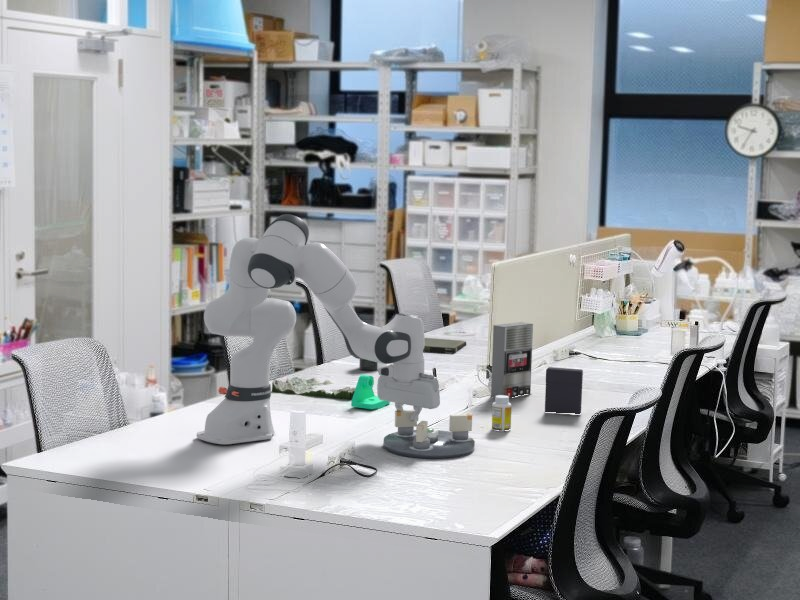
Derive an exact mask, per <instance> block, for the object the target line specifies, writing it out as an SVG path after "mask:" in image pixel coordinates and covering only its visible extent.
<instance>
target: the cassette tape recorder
mask: <svg viewBox="0 0 800 600" xmlns="http://www.w3.org/2000/svg"><path fill="white" fill-rule="evenodd" d="M492 328H493V329H492V353H491V354H492V355H491V356H492V357H491V382H490V383H491V387H490V398H492V397H493V398H492V399H495V396H497V395H505V396H509V398H512V397H515V396H518V395H524V394H531V391H532V390H531V386H532V363H533V362H532V361H533V358H532V357H533V338H534V337H533V335H534V333H533V332H534V324H533V323H529V322H525V321H520V322H511V323H502V324H493V326H492ZM512 399H513V398H512Z"/></svg>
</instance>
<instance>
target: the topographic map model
mask: <svg viewBox="0 0 800 600" xmlns="http://www.w3.org/2000/svg"><path fill="white" fill-rule="evenodd" d="M271 384H272V385H271V393H277V394H287V395H288V394H289V395H298V396H306V397H307V396H308V397H316V398H325V399H334V400H336V399H337V400H345V401H352V398H353V395H354V392H355V389H356V387H350V386H346V387H343V388H339V389H330V392H328V391H326V390H325V389H318V390H315V389H316V388H318V387H317V386H323V385H325V386H328V385H332V384H334V383H333V382H332V381H330V380H328V379H326V380H324V381H323V382H321V381H319V380H318V379H316V378H315V377H313V378H309V379H305V378H299V377H298V376H296V377H295V376H294V377H292V378H291V379H289V378H286V381H282V380H277V379H275V378H274V379H273V380H272V383H271Z"/></svg>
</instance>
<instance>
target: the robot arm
mask: <svg viewBox="0 0 800 600" xmlns="http://www.w3.org/2000/svg"><path fill="white" fill-rule="evenodd" d="M309 230H310V229H309V227H308V225H307V224H306V222H305V221H304V220H303V219H301V217H298V216H297V215H293V214H291V213H284V214H281V215H279V216H277V217H276V218H275V219H274V220H273V221H272V222H270V223H269V224H268V226H267V227H266V228H265V229H264V233H263V235H262V236H261V237H260V238H256V237H245V238H244V237H243V238H242V239H239V240H238V241H237V242H236V243H235V244H234V245H233V248H232V251H231V255H230V257H229V258H230V260H229V270H228V271H229V282H228V283H229V284H228V288H227V290H226V291H225V292H224V293H223V294H222V295H221V296H218V297H216V298H214V299H212V300H211V301H210V302H208V304H207V306H206V307H205V309H204V313H203V320H204V324H205V327H206V328H207V330H208V331H209V333H211V334H213V335H216V336H217V335H218V336H224V337H243V338H244V337H251V338H252V339H253V340H252V342H251V344H250V345H248V346H246V347H243V348H242V349H240V350H238V351H236V352H234V354H232V357H231V359H230V373H229V374H230V375H229V376H230V377H229V379H230V381H229V384H228V386H227V388H226V387H223V386H220V387H218V389H217V392H218V393H219V394H221V395H224V399H223V400H222V401H220V403H219V404H217V405H216V406H215V407H214V408H213V410H211V411H210V412H209V413H208V414H207V415H206V419H205V421H204V422H205V423H204V430H201V431H198V432H196V438H197V439H199V440H201V441H205V442H207V443H212V444H218V445H232V444H233V445H234V444H240V443H249V442H256V441H263V440H265V441H266V440H270V439H273V435H275V430H274V426H273V421H272V413H271V405H270V404H271V403H270V402H271V401H270V400H271V396H272V395H271V394H272V385H271V383H270V374H271V373H270V371H271V362H272V356H273V354H274V351H275V349H276V348H277V346H278V344H279V343H280V342H281V341H282V340H283V339H284V338H285V337H286V336H288V335H290V334H291V332H292V331H293V329H294V328H295V326H296V324H297V312H296V310H295V307H294V306H293V304H292V303H291V302H290V301H288V300H284V299H280V298H275V297H268V296H269V295H270V293H271V292H270V291H271V289H277V288H282V287H283V286H290V285H292V284H293V283H294V282H295V278H298V279H300V280H302V281H303V282H304V283H305V284H306V285H307V287H308V288H309V289H310V290H311V292H312V293H313V294H314V296H315V297H316V298H317V299H318V301H320V303H321V304H322V306H323V308H324V310H325V311H326V313H327V314H328V316H329V317H330V318H331V320H332V321H333V323H334V324H335V325H336V327H337V329H339V331H340V332H341V335H342V337H343V339H344V342H345V346H346V349H347V350H348V353H349V354H350V355H351V356H352V357H354V358H355V359H358V360H360V359H363V360H370V361H374V362H378V363H383V364H387V366H385V367H381V368H379V370H377V371H378V376H379V377H378V379H377V385H376V389H377V390H376V391H377V392H376V393H377V394H376V396H378V397H379V399H380V400H384V401H389V402H390V403H394V407H395V408H396V411H397V410H404V407H403V406H404V405H406V406H413V409H412V410H415V411H414V414H413V415H411V419H410V420H411V421H414V422H416V421H417V422H418V421H419V415H420V413H421V411H422V409H423V408H424V409H429V410H433V409H436V408H437V409H438V408H439V406H440V405H441V397H440V396H441V395H440V389H439V379H438V378H436V377H435V375H432V374H427V373H425V356H424V352H423V349H424V342H425V339H424V338H425V327H424V321H423V320H422V318H421V317H420V316H419V315H415V314H409V313H403V312H402V313H400V312H399V313H396V314H395V316H394V317H393V319H391V320H390V321H389V322H388V323H387V324H385V325H383V326H381V327H380V326H376V325H373V324H369V323H366V322H364V321H363V320H362V319H360V317H359V316H358V314H357V313H356V311H355V310H354V308H353V307H352V306H351V304H350V303H351V302H352V301H353V299H354V297H355V296H356V293H357V289H358V287H357V286H358V284H357V282H356V280H355V277H354V276H353V274H352V273H351V271H350V270H349V268H348V267H347V266H346V265H345V263H343V262H344V261H342V260H341V259H340V258H339V257H338V256H337V255H336V254H335V253H334V252H333V251H332V250H331V249H330V248H329V247H327V246H326V245H325V244H323V243H322V242H317V241H315V242H310V243H308V241H309V237H310V236H309V235H310V231H309ZM388 364H389V365H388Z"/></svg>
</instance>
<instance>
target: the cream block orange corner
mask: <svg viewBox="0 0 800 600" xmlns="http://www.w3.org/2000/svg"><path fill="white" fill-rule="evenodd" d="M414 411H415V410H414V409H406V410H404V409H403V410H397V409H396V410H394V427H395V428H397V432H398V434H400V435H412V434H413V433H414V430H415V428H414V427H416V425H417V424H418V421H416V422H414V421H411V420H410V419H411V415H413V414H414Z"/></svg>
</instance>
